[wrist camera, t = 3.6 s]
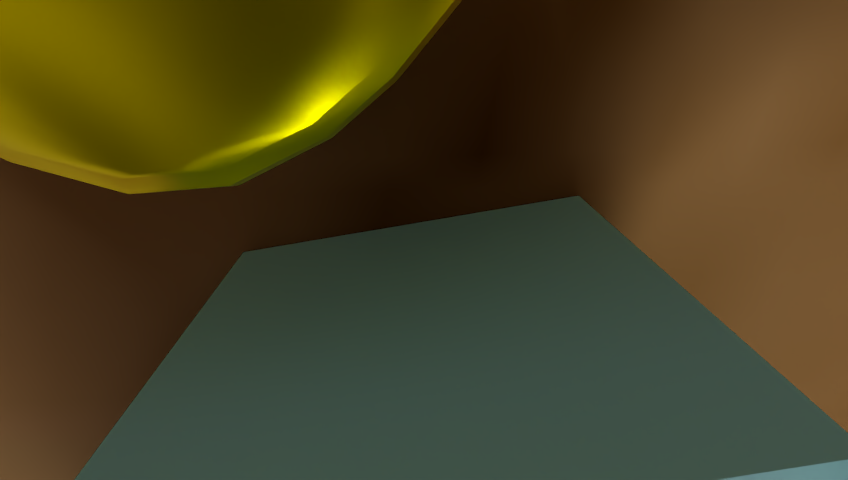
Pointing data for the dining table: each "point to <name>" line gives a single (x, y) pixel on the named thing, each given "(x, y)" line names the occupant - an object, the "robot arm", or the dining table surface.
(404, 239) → the block
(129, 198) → the dining table surface
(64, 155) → the element tile
